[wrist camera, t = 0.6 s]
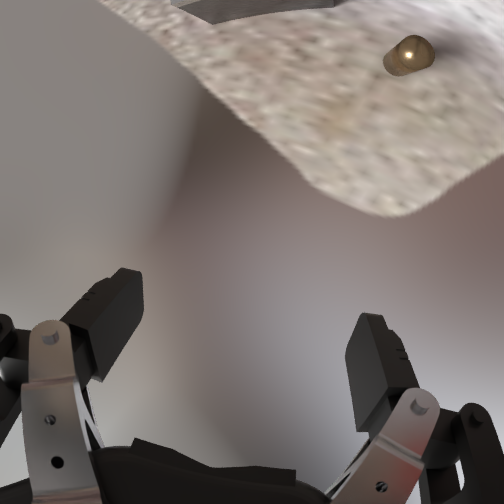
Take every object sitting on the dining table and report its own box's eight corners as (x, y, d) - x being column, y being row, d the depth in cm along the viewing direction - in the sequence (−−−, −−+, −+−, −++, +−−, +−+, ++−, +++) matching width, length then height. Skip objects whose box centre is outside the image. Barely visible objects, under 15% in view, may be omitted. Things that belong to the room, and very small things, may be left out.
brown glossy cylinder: (381, 50, 25) (398, 33, 17) (407, 52, 24) (431, 37, 16) (384, 75, 26) (403, 67, 18) (410, 77, 25) (436, 70, 17)
